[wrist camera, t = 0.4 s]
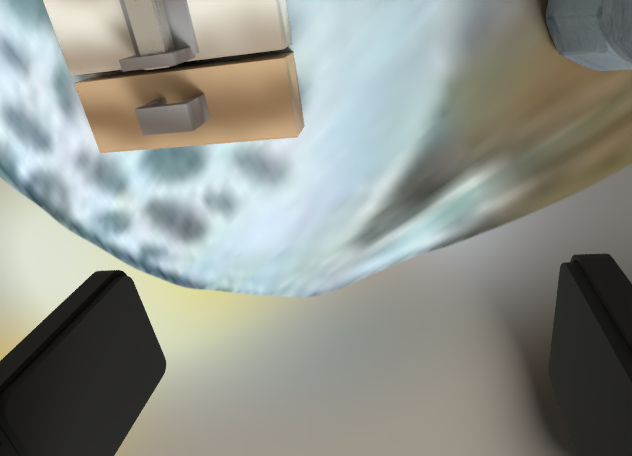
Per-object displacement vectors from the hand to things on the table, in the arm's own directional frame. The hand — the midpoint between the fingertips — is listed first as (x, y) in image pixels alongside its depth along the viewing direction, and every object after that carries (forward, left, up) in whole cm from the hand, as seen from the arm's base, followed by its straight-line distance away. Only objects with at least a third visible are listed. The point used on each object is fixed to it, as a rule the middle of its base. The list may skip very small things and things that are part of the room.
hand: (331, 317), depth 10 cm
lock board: (-7, -16, -29) cm, 34 cm away
